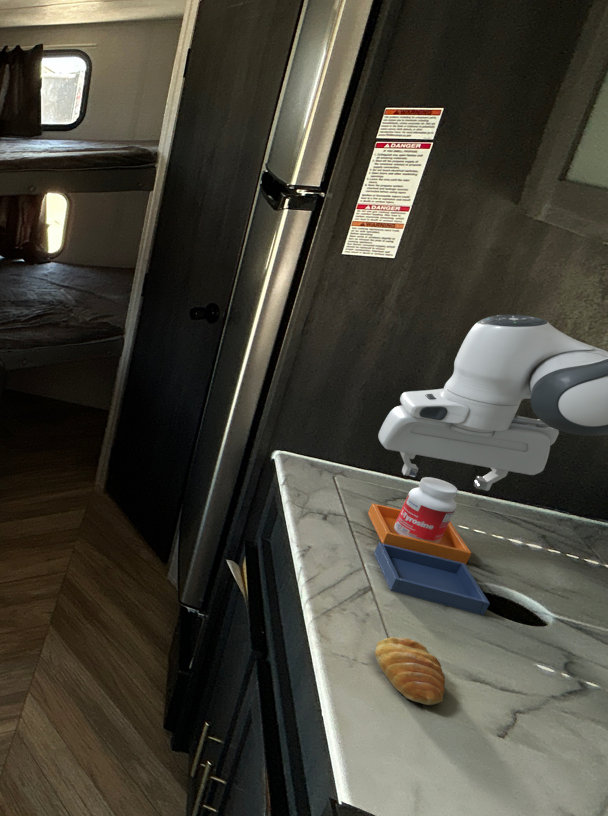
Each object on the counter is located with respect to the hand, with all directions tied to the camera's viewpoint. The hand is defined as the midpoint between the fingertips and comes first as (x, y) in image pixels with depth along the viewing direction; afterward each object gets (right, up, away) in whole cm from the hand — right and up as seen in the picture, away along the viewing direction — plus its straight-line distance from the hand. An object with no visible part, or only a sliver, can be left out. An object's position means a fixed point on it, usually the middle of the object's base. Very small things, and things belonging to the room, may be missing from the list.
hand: (443, 481), depth 109 cm
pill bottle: (0, -11, +5) cm, 12 cm away
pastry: (-28, -23, -22) cm, 42 cm away
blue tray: (-9, -16, -6) cm, 19 cm away
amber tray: (0, -11, +5) cm, 12 cm away
